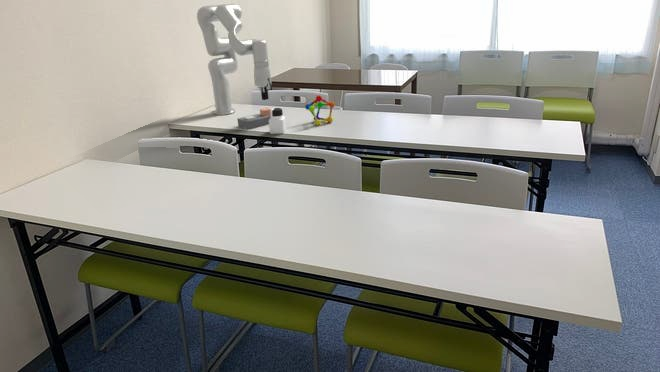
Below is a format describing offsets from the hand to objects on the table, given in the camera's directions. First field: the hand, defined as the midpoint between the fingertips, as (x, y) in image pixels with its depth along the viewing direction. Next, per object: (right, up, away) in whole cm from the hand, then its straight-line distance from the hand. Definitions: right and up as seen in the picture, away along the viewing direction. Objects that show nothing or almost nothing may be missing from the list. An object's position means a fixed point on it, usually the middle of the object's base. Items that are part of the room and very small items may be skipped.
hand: (265, 99), depth 261 cm
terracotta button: (0, -9, +4) cm, 10 cm away
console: (-4, -13, +2) cm, 14 cm away
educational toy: (+29, -13, -1) cm, 31 cm away
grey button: (-8, -14, -1) cm, 16 cm away
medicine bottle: (+8, -19, -14) cm, 25 cm away
